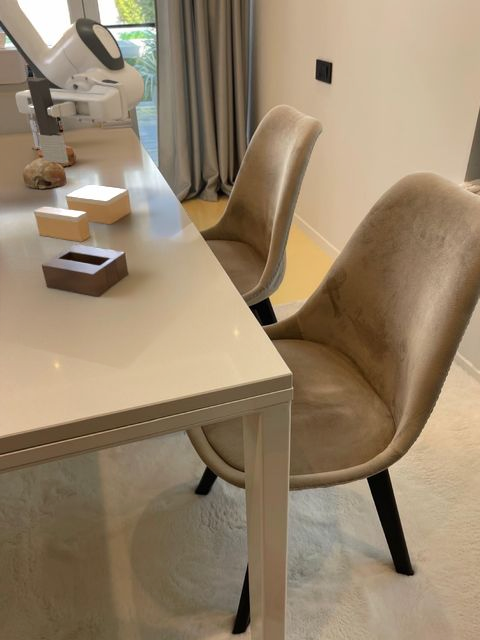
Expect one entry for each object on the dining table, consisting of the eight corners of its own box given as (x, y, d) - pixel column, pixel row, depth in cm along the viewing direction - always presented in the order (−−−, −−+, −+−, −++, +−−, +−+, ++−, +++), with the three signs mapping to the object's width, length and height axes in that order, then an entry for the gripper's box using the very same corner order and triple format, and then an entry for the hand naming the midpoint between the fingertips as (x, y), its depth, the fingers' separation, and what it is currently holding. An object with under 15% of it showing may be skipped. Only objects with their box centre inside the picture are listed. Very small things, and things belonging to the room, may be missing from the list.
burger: (68, 157, 160) (64, 140, 158) (82, 164, 154) (79, 146, 152) (34, 163, 155) (30, 146, 152) (48, 171, 149) (44, 153, 146)
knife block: (46, 287, 92) (41, 264, 90) (80, 265, 99) (75, 244, 97) (97, 296, 89) (93, 274, 87) (128, 273, 96) (125, 252, 94)
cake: (70, 218, 119) (65, 195, 116) (92, 206, 125) (88, 184, 122) (110, 224, 116) (106, 201, 113) (131, 212, 122) (128, 189, 119)
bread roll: (29, 204, 137) (23, 178, 131) (22, 176, 142) (16, 149, 135) (71, 198, 141) (67, 173, 134) (62, 171, 145) (58, 145, 139)
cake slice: (39, 235, 111) (33, 210, 108) (49, 230, 113) (44, 206, 111) (81, 242, 108) (76, 217, 105) (90, 236, 110) (86, 212, 108)
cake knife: (41, 162, 104) (20, 80, 96) (49, 158, 106) (30, 77, 97) (63, 164, 102) (44, 81, 94) (71, 161, 104) (53, 78, 96)
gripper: (41, 77, 110) (-11, 88, 99) (130, 83, 104) (85, 95, 93) (48, 112, 114) (-2, 126, 103) (135, 119, 107) (92, 134, 97)
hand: (41, 111), depth 98 cm, fingers closed on cake knife, 2 cm apart
